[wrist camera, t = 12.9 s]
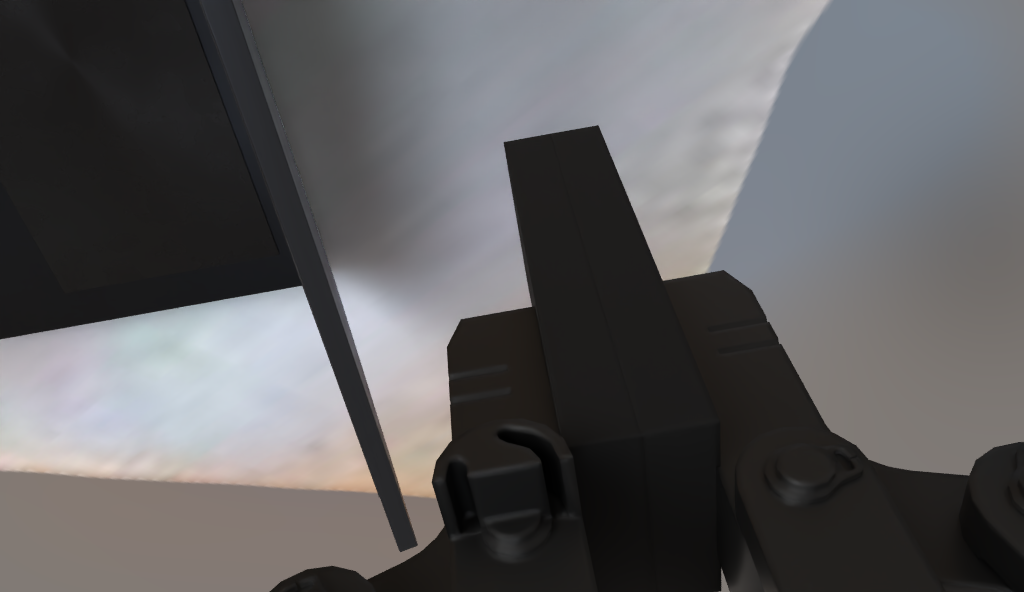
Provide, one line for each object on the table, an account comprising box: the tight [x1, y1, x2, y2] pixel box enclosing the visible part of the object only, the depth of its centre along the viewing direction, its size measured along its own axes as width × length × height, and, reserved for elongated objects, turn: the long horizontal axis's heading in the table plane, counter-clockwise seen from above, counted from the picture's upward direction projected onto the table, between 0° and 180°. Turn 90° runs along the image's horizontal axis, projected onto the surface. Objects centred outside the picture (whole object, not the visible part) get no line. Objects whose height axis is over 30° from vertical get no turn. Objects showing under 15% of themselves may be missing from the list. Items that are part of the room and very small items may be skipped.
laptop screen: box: [199, 0, 418, 552], centre depth 36 cm, size 22×32×1 cm
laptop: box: [0, 0, 302, 339], centre depth 45 cm, size 22×32×2 cm
